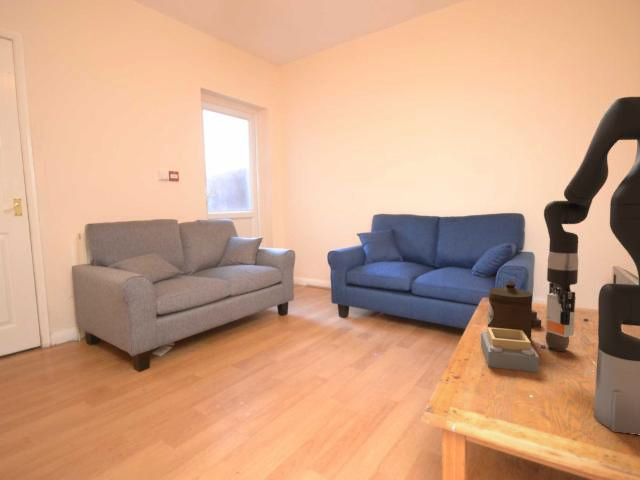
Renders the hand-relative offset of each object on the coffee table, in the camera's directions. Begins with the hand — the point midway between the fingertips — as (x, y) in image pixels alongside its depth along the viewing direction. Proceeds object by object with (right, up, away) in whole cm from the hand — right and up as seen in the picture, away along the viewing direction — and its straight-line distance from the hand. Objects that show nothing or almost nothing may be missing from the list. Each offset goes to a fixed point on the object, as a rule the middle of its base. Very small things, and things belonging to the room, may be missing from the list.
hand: (560, 320), depth 105 cm
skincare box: (0, -4, 0) cm, 4 cm away
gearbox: (-10, -15, +12) cm, 21 cm away
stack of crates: (+16, -12, +42) cm, 47 cm away
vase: (+11, -14, +17) cm, 25 cm away
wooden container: (0, -13, +28) cm, 31 cm away
